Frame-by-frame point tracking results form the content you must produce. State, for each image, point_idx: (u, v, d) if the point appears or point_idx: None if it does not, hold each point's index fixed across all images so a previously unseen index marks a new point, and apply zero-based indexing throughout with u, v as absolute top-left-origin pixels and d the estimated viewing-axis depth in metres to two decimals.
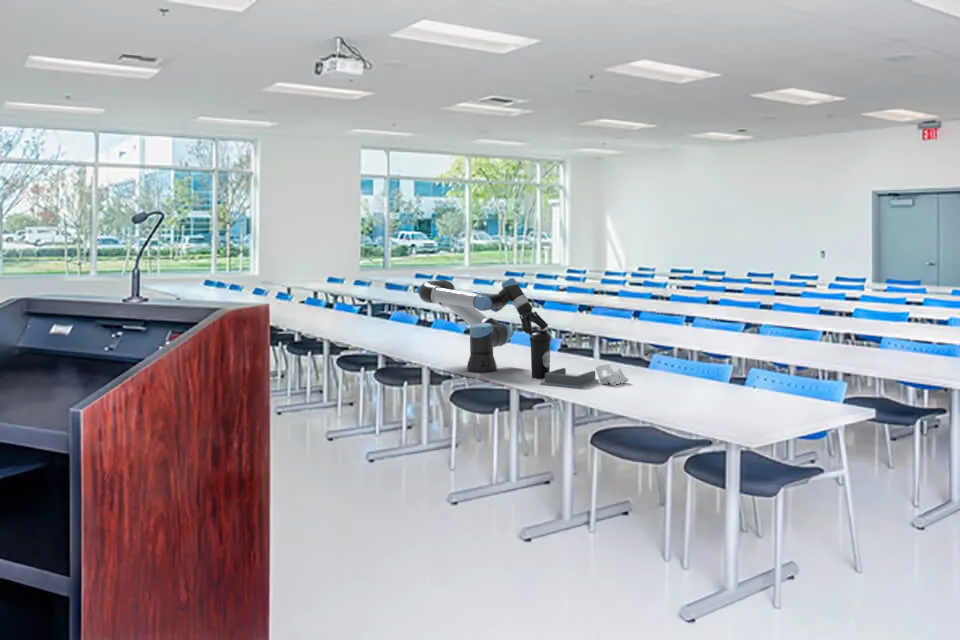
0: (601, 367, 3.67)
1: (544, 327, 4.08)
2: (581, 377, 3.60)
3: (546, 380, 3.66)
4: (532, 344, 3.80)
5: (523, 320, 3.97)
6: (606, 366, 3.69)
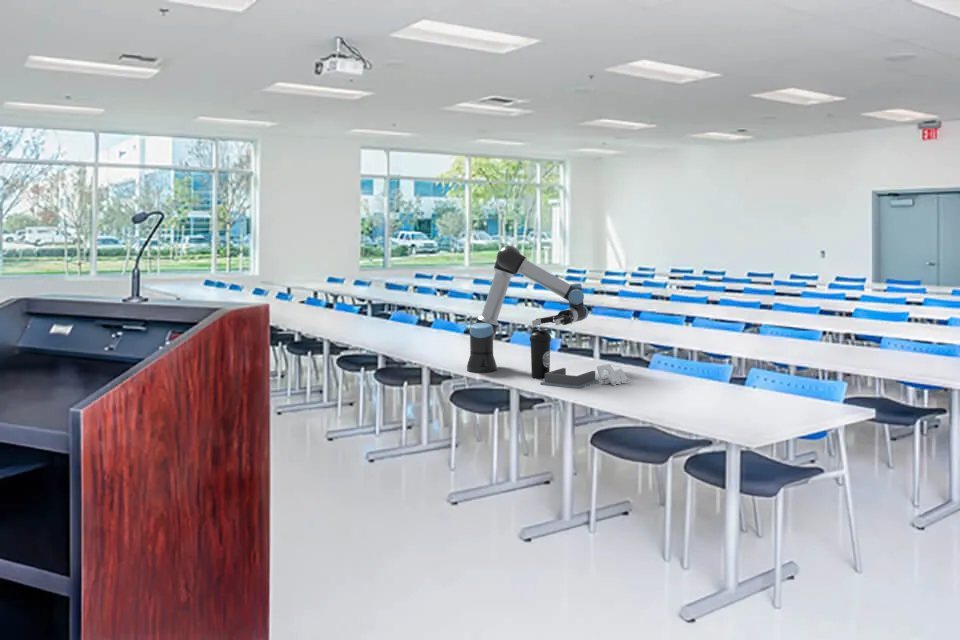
0: (602, 367, 3.67)
1: None
2: (581, 377, 3.60)
3: (546, 380, 3.66)
4: (532, 344, 3.80)
5: (571, 318, 3.95)
6: (607, 366, 3.69)
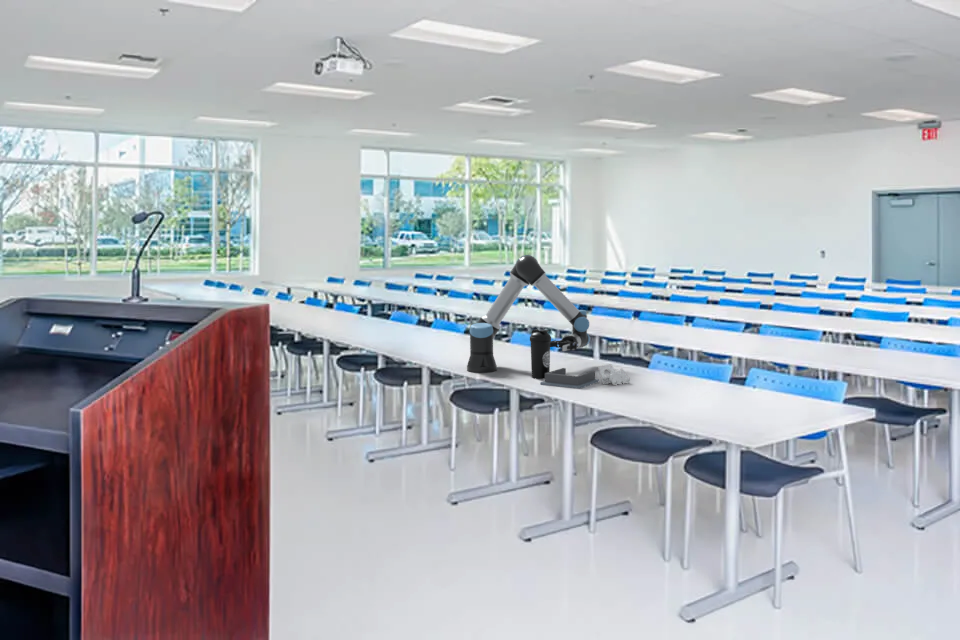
0: (603, 367, 3.67)
1: None
2: (581, 377, 3.60)
3: (546, 380, 3.66)
4: (532, 344, 3.80)
5: None
6: (608, 366, 3.69)
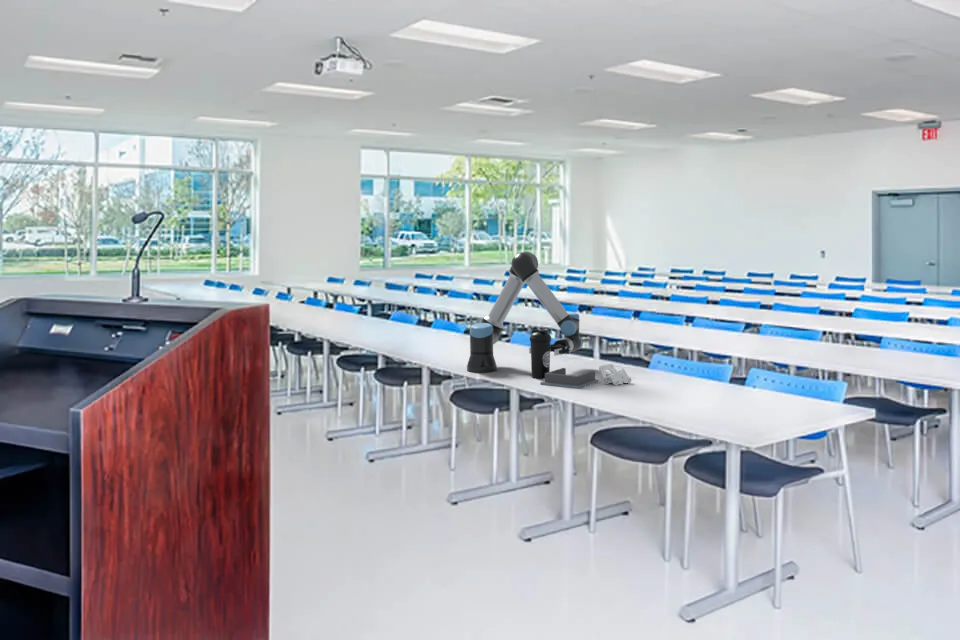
0: (604, 367, 3.67)
1: None
2: (581, 377, 3.60)
3: (546, 380, 3.66)
4: (532, 344, 3.80)
5: None
6: (610, 366, 3.70)
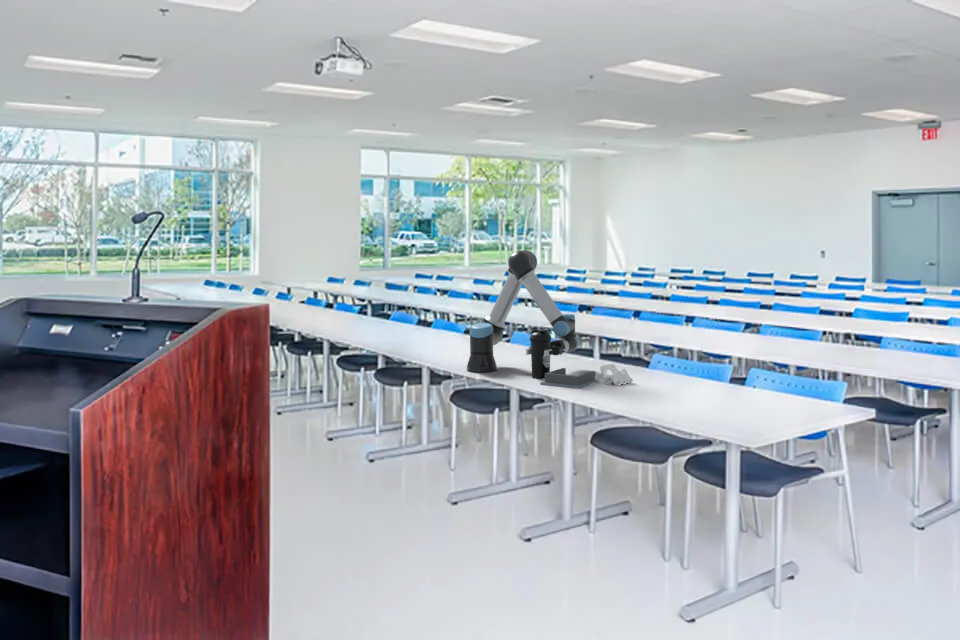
0: (605, 367, 3.68)
1: None
2: (581, 377, 3.60)
3: (546, 380, 3.66)
4: (532, 344, 3.80)
5: (562, 350, 3.87)
6: (611, 366, 3.70)
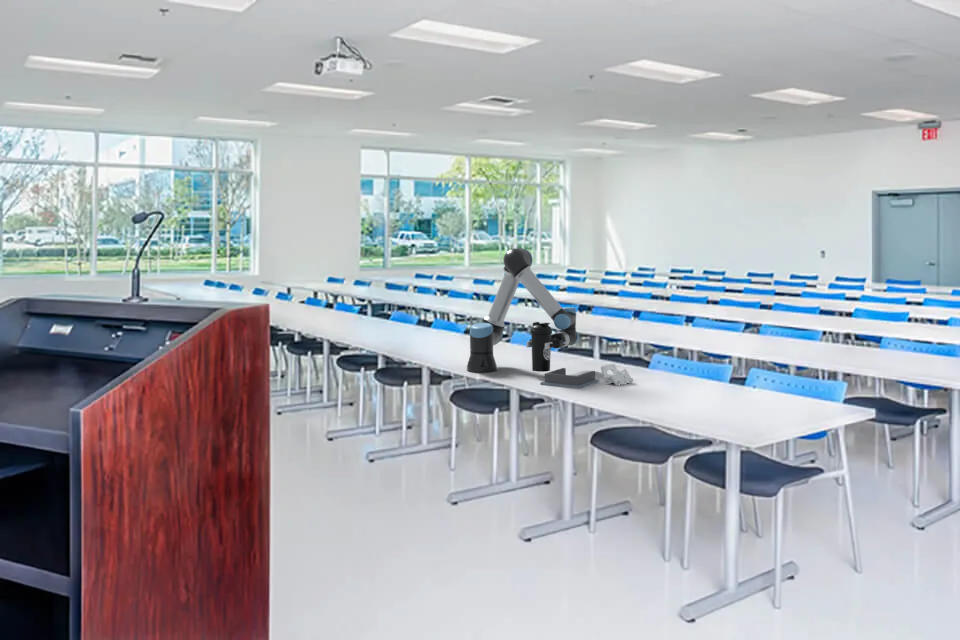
0: (606, 367, 3.68)
1: None
2: (581, 377, 3.60)
3: (546, 380, 3.66)
4: (533, 337, 3.80)
5: (562, 343, 3.86)
6: (611, 366, 3.70)
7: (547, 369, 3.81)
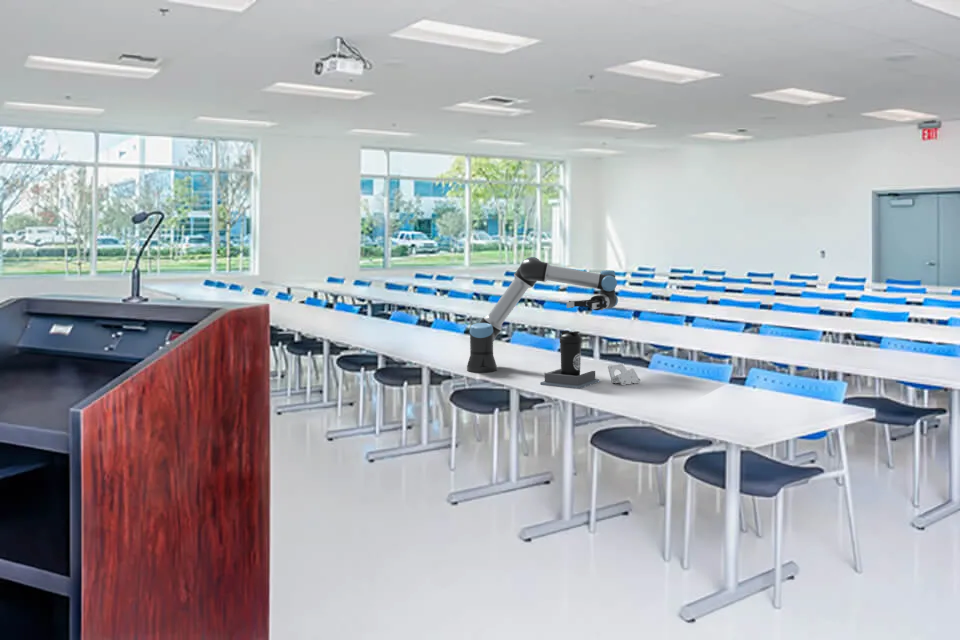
0: (613, 366, 3.68)
1: None
2: (581, 377, 3.60)
3: (546, 380, 3.66)
4: (562, 346, 3.65)
5: None
6: (619, 366, 3.70)
7: None
